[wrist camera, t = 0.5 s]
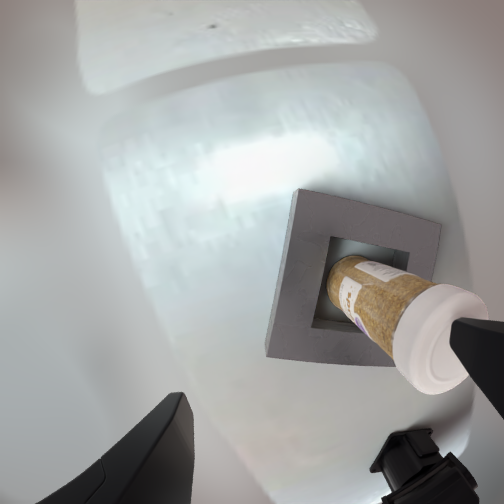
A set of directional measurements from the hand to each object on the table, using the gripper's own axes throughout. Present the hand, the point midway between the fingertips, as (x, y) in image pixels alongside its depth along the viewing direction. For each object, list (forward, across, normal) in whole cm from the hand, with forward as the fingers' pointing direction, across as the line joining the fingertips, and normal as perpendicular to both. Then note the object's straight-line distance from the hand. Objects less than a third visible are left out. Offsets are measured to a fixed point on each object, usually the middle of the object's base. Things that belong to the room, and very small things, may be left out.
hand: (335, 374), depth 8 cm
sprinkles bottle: (+14, -6, +3) cm, 16 cm away
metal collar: (+14, -6, +3) cm, 15 cm away
